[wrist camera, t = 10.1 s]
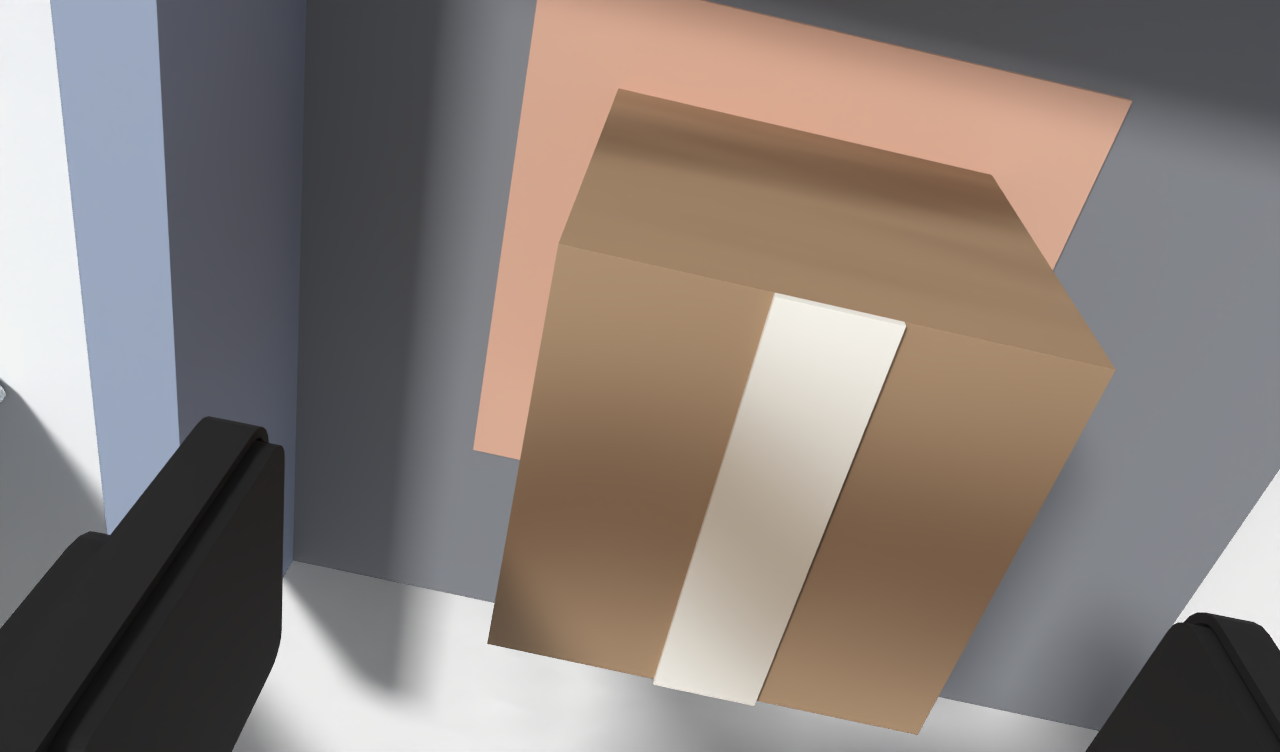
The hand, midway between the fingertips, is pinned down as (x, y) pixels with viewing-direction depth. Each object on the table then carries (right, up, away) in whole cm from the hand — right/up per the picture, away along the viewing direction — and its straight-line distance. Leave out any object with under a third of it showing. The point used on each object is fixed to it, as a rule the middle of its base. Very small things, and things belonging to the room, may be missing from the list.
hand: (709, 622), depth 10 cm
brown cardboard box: (+1, +4, +7) cm, 8 cm away
